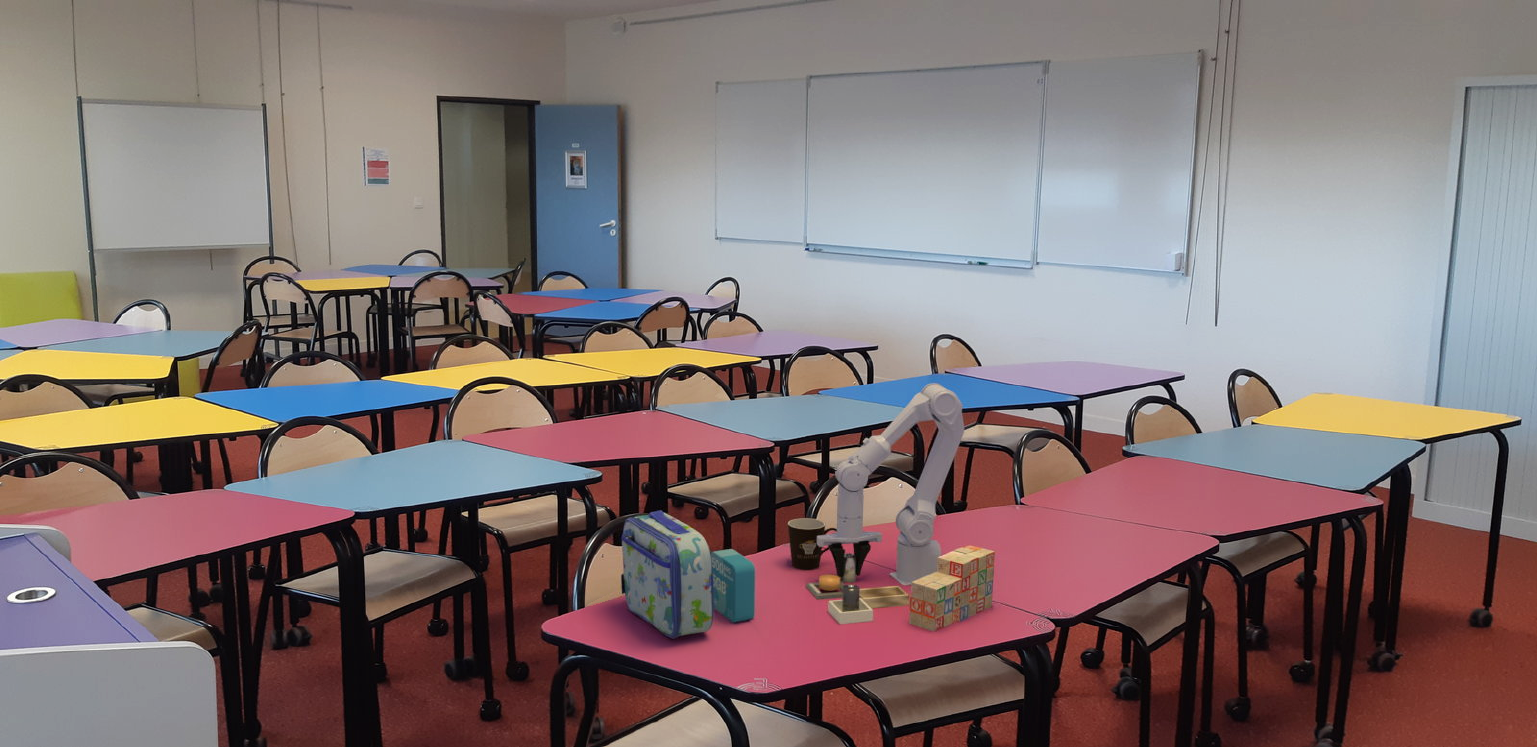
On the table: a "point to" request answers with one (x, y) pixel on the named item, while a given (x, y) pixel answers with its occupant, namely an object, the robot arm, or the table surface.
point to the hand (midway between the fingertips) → (848, 574)
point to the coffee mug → (806, 542)
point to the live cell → (849, 568)
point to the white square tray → (850, 612)
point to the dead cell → (850, 598)
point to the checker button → (829, 582)
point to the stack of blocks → (953, 588)
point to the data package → (733, 585)
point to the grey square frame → (818, 595)
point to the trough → (884, 597)
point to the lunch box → (667, 574)
